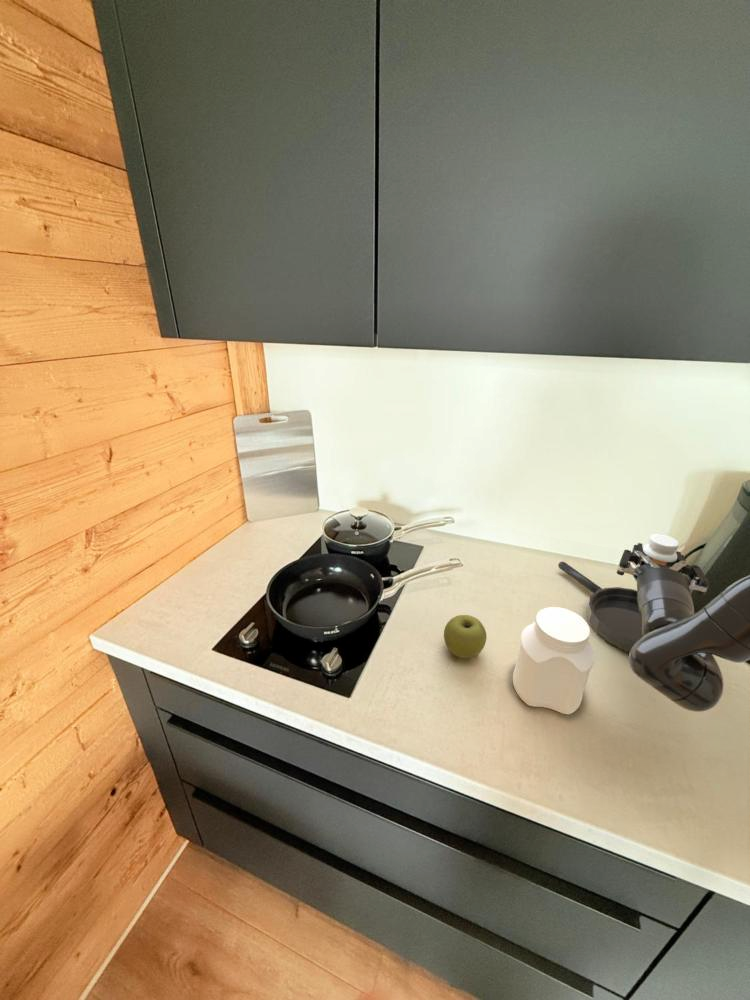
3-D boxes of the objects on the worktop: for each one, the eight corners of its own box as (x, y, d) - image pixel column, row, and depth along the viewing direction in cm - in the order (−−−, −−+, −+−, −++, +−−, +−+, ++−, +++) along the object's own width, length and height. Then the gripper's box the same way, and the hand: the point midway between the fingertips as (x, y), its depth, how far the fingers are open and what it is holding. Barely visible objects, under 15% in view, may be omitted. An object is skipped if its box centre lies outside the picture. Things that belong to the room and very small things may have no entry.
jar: (577, 674, 78) (596, 611, 71) (584, 719, 70) (607, 653, 63) (512, 660, 81) (524, 598, 74) (512, 702, 73) (526, 637, 66)
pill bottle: (644, 592, 81) (659, 548, 77) (626, 574, 86) (640, 532, 82) (672, 591, 81) (689, 547, 77) (653, 573, 87) (668, 532, 82)
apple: (483, 669, 79) (488, 641, 76) (440, 662, 81) (443, 634, 78) (483, 640, 86) (487, 613, 83) (443, 634, 87) (446, 607, 84)
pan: (626, 590, 100) (630, 579, 98) (705, 644, 85) (711, 632, 83) (567, 610, 94) (570, 599, 92) (641, 672, 79) (646, 659, 77)
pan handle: (561, 565, 107) (563, 559, 106) (604, 596, 96) (606, 589, 95) (555, 567, 106) (557, 561, 105) (598, 599, 95) (600, 591, 94)
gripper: (726, 595, 65) (707, 543, 79) (621, 569, 71) (620, 526, 85) (709, 632, 69) (694, 576, 82) (610, 604, 75) (611, 557, 88)
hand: (657, 551), depth 83 cm, fingers closed on pill bottle, 5 cm apart
